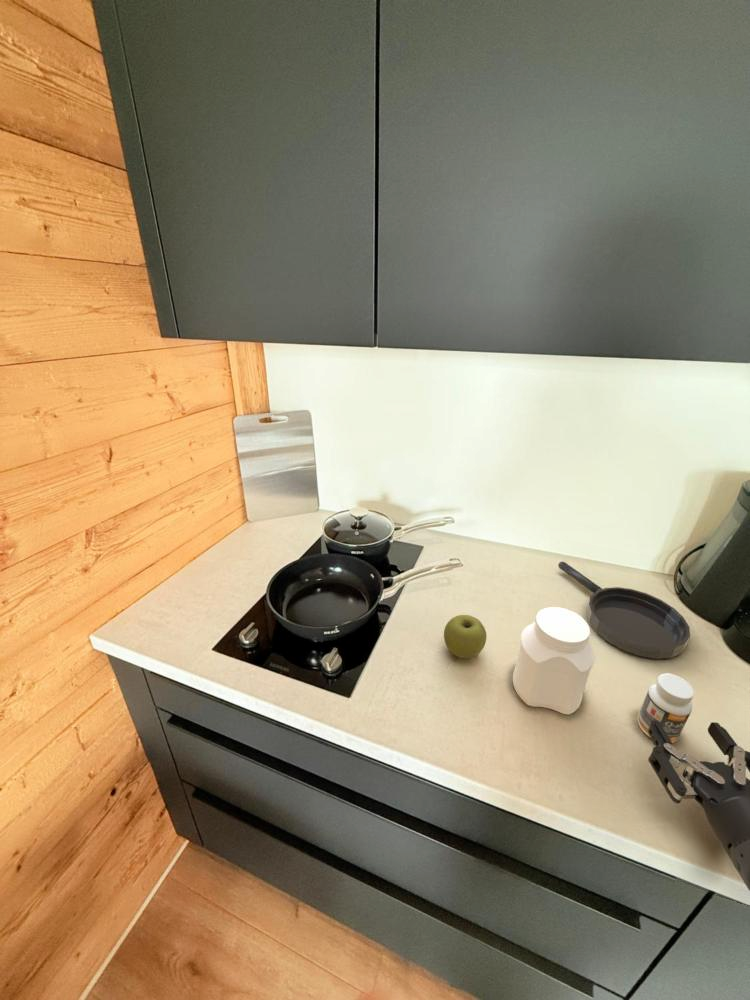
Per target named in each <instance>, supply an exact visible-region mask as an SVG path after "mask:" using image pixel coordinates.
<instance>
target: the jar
mask: <svg viewBox="0 0 750 1000" xmlns="http://www.w3.org/2000/svg"><path fill="white" fill-rule="evenodd" d="M590 636H591V628H590V625H589V624H588V623H587V621H586V620H585V619H584V618H583V617H582V616H581V615H580V614H578V613H576V612H574V611H572V610H570V609H567V608H563V607H559V606H549V607H545V608H542V609H540V610H539V611H538V612H537V614H536V616H535V620H534V622H532V623H531V624H529V625H527V626H526V627H525V628H524V629H523V630H522V633H521V636H520V639H519V648H518V653H517V656H516V657H517V658H516V661H515V667H514V669H513V673H512V684H513V688H514V690H515V692H516V694H517V695H518V697H519V698H520V700H521V701H522V702H523V703H525V704H526V705H527V706H529V707H533V708H546V709H548V710H553V711H556V712H558V713H560V714H563V715H567V716H569V715H572V714H573V713H575V712H576V711H577V710H578V709H579V707H580V706H581V703H582V701H583V697H584V691H585V688H586V686H587V683H588V679H589V676H590V673H591V670H592V668H593V666H594V663H595V657H596V656H595V652H594V649H593V647H592V645H591V644H590V641H589V639H590Z"/></svg>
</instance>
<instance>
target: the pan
mask: <svg viewBox="0 0 750 1000" xmlns="http://www.w3.org/2000/svg"><path fill="white" fill-rule="evenodd" d="M586 607H587V608H586V612H585V614H586V617H587V621H588V623H589V625H590V626H591V628H592V629H593V630H594V631H595V632H596V633H597V634H598V635H599V636H600V637H601V638H603V639H604V640H605V641H606V642H608V643H610V644H611V645H613V646H615V647H617V648H618V649H620V650H622V651H624V652H626V653H629V654H632V655H636V656H639V657H643V658H649V659H656V660H657V659H659V660H660V659H671V658H674V657H676V656H678V655H680V654H682V652H683V651H684V650H685V649H686V647H687V645H688V642H689V640H690V638H691V629H690V626H689V624H688V622H687V620H686V619H685V617H684V616H683V615H682V614H681V613H680V612H679V611H677V609H676V608H675V607H673V606H671V605H670V604H668V603H667V602H665V601H664V600H662V599H660V598H658V597H656V596H654V595H651V594H649V593H647V592H643V591H640V590H636V589H633V588H628V587H619V586H617V587H616V586H614V587H605V588H602V589H601V590H598V591H596V592H595V593H592V594H591V595H590V597H589V601H588V604H587V606H586Z"/></svg>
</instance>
